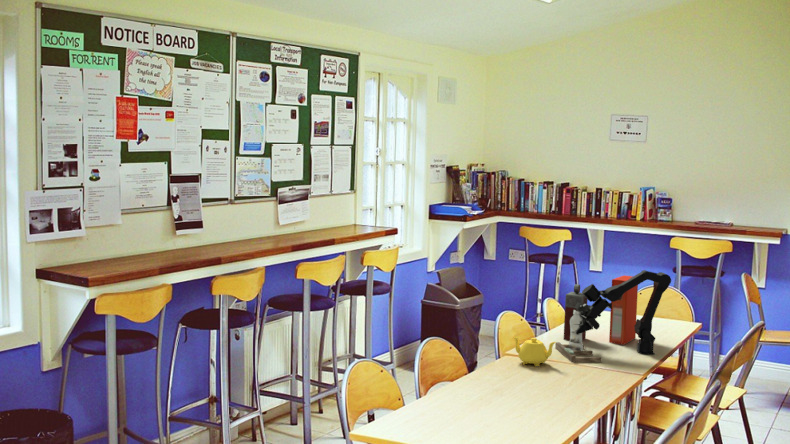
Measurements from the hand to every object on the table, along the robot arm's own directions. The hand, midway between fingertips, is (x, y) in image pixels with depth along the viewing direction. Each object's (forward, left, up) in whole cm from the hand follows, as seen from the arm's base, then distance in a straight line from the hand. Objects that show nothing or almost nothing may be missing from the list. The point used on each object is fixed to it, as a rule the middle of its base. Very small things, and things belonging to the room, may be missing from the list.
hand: (573, 332), depth 367 cm
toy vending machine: (-10, -25, -10) cm, 29 cm away
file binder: (-33, -23, -10) cm, 42 cm away
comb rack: (-1, +6, -10) cm, 11 cm away
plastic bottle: (-1, 0, -10) cm, 10 cm away
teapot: (+24, +19, -10) cm, 33 cm away
